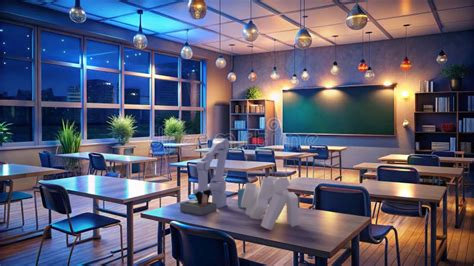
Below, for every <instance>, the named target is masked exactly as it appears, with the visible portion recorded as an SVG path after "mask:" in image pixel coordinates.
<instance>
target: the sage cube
mask: <svg viewBox="0 0 474 266" xmlns="http://www.w3.org/2000/svg"><path fill="white" fill-rule="evenodd" d="M192 200H193V201H191V200H188V201H189V202H188V204H189V205H194V206H199V204H198V201H195V200H196V199H192Z"/></svg>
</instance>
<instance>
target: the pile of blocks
mask: <svg viewBox="0 0 474 266" xmlns="http://www.w3.org/2000/svg"><path fill="white" fill-rule="evenodd" d="M245 183H246V184H245V187H244V188H245V190H244V194H243V197H242V202H241V207H246V209H245V213H244V214H246V215H247V216H249V218H250V219H253V220H261V218H262V217H263V218H262V221H261V224H260V227H263V228H265V229H267V230H271V231H272V230H273V229H274V227H275V223H276V221H278V219H279V217H280V215H281V214H282V211H283V210H284V208H285V206H286V222H287V223H288V224H289V225H290V226H291V228H293V227H296V226H298V225H299V224H300V223H299V220H300V219H299V197H298V195H297V194H296V193H295V192H294V191H291V192H290V191H289V190H288V189H287V188H289V186H290V185H291V183H290V180H289V179H288V178H287V177H281V176H280V177H279V178H278V177H276V176H271V175H268V176H267V177H265V176H263V177H262V180H261V183H260V187H259V186H257V184H256V183H252V182H245ZM264 213H265V214H264ZM263 215H264V216H263Z"/></svg>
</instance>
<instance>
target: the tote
mask: <svg viewBox="0 0 474 266" xmlns="http://www.w3.org/2000/svg"><path fill="white" fill-rule="evenodd" d="M193 200H195V201H197V199H191V200H188V201H183V202H180V203H179V211H180V212H183V213H186V214H190V215H196V216H199V217H201V216H202V217H203V216H206V215H208V214H209V215H210V214H213V213H215V212H217V209H218V208H217V203H213V202H212V201H208V203H207V205H206V206H202V207H199V206H194V205H189V204H188V202H189V201H193Z"/></svg>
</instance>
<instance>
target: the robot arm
mask: <svg viewBox="0 0 474 266" xmlns="http://www.w3.org/2000/svg"><path fill="white" fill-rule="evenodd" d="M230 145H231V144H230V141H229V139H228V138H217V137H216V138H213V139H212V142H211V147H210V149H209V151H207V152H205V154H204V155H203V156H202V158H201V160H198V161H197V162H196V165H195V166H196V167H195V168H196V170H197V171H196V172H197V179H198V180H197V187H196V188H195V189H192V193H193V194H194V196H195V197H196V200H197V201H198V204H202V196H203V194H207V203H208V202H209V198H210V196H211V202H213V203H217V209H221V208H223V207H227V206H228V204H227V194H226V189H227V185H226V184H227V182H226V180H225V179H224V178H223V177H224V174H225V173H224V171H225V167H226V160H227V154H228V153H229V149H230ZM216 153H218V157H217V162H216V168H215V172H214V173H215V175H214V177H212V178H211V179H210V182H208V181H209V179H208V176H209V174H208V173H209V170H210V167H211V163H212V162H213V160H214V157H215V154H216ZM208 183H209V184H208Z"/></svg>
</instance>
